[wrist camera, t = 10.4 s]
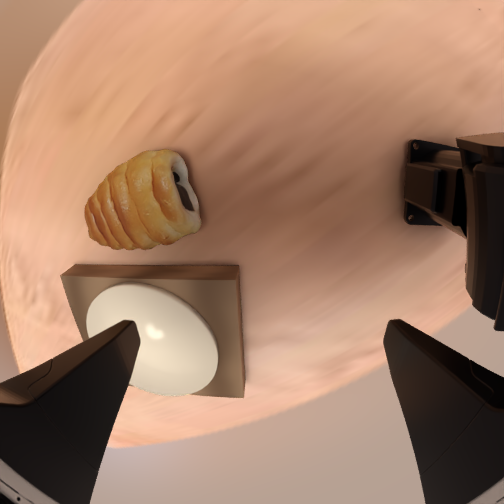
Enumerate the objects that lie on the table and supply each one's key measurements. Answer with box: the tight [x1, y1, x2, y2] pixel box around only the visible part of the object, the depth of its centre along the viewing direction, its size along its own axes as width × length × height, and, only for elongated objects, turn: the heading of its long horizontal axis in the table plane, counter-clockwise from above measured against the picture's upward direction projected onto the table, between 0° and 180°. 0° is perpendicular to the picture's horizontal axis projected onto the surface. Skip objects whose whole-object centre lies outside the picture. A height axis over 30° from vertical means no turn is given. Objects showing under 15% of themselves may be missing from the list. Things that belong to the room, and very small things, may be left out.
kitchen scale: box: [60, 265, 245, 398], centre depth 23 cm, size 16×13×3 cm
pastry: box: [85, 149, 201, 250], centre depth 18 cm, size 9×7×4 cm
